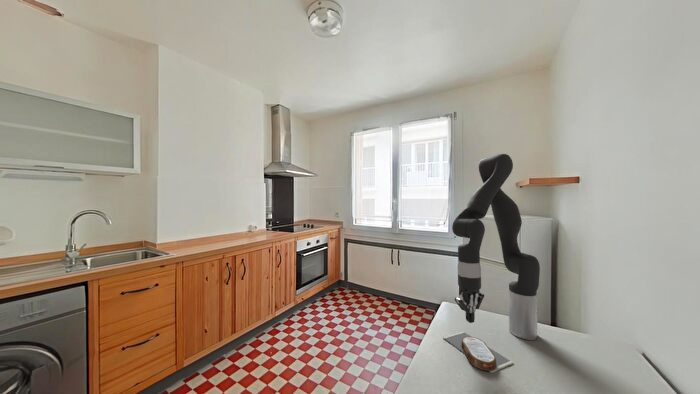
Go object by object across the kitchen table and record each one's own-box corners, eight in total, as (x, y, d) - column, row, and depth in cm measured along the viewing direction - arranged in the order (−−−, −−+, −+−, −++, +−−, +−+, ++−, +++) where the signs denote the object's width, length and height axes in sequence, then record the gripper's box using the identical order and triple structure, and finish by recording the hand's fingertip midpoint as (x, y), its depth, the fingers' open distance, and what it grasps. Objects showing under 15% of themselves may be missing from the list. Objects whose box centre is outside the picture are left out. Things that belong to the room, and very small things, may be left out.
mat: (463, 332, 97) (463, 331, 97) (513, 363, 78) (513, 362, 78) (443, 338, 93) (443, 337, 93) (491, 373, 74) (491, 371, 74)
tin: (474, 369, 75) (501, 373, 74) (474, 359, 75) (502, 363, 74) (457, 341, 90) (480, 344, 89) (458, 333, 90) (481, 336, 89)
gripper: (472, 268, 90) (473, 313, 90) (447, 273, 85) (448, 321, 85) (491, 273, 83) (492, 322, 83) (464, 279, 78) (466, 331, 78)
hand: (470, 321), depth 84 cm, fingers closed
